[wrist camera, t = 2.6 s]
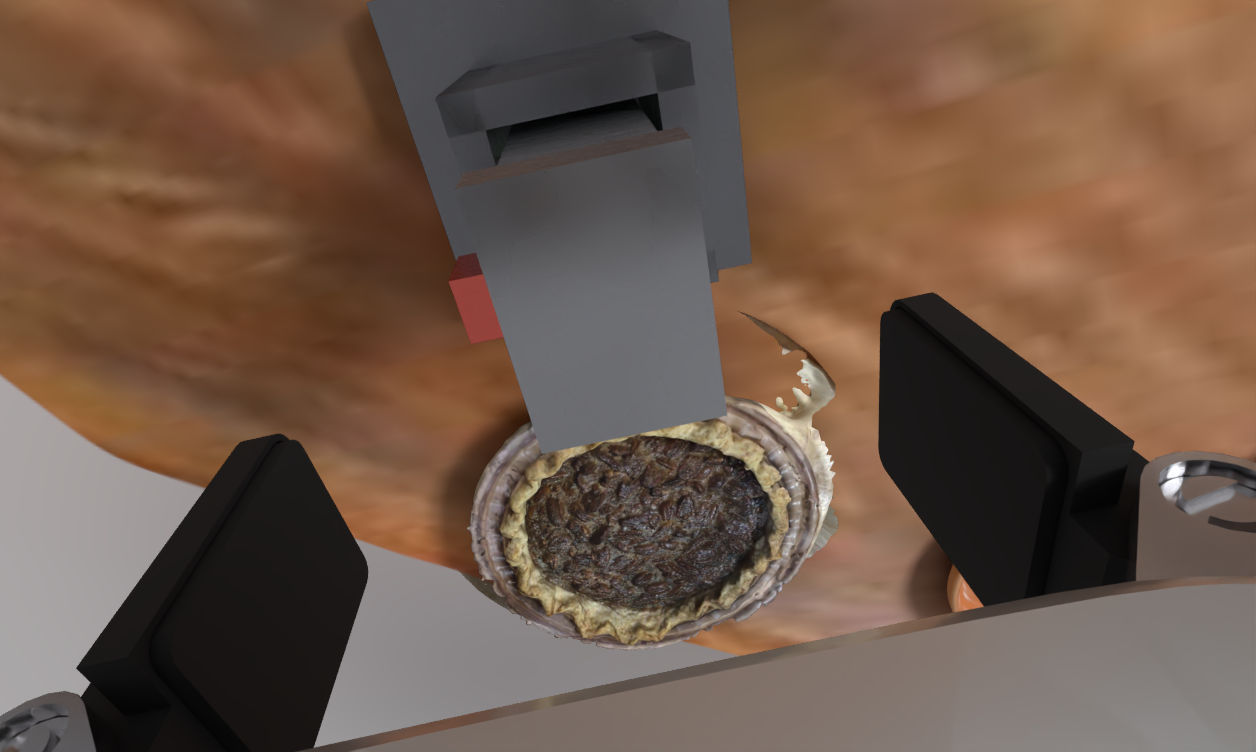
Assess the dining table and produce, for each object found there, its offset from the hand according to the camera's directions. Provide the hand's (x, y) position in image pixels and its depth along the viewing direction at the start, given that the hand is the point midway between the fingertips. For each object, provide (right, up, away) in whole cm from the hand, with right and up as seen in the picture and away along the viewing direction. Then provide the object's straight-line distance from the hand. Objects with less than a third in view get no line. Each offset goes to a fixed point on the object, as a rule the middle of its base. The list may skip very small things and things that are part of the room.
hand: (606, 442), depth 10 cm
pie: (+1, -6, +32) cm, 32 cm away
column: (-2, +11, +18) cm, 21 cm away
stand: (-2, +12, +20) cm, 23 cm away
